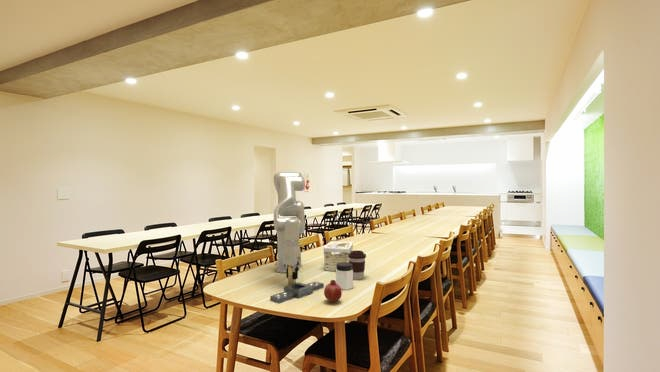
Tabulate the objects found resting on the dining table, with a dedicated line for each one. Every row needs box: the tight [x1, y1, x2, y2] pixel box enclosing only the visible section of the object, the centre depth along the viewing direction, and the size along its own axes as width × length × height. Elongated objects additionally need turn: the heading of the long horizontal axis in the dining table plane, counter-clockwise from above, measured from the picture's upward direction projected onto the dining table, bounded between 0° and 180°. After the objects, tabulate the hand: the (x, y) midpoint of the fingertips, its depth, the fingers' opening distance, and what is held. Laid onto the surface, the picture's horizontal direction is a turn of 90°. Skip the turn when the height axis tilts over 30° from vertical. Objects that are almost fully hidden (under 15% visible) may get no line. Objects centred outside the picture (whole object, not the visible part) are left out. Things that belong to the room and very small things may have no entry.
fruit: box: [323, 279, 342, 303], centre depth 153 cm, size 8×8×10 cm
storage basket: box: [323, 240, 354, 272], centre depth 216 cm, size 24×16×15 cm
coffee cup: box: [348, 250, 367, 281], centre depth 191 cm, size 10×10×15 cm
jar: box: [335, 262, 354, 291], centre depth 174 cm, size 9×8×12 cm
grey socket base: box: [269, 281, 325, 304], centre depth 165 cm, size 10×30×3 cm, turn 140°
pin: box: [287, 266, 297, 286], centre depth 177 cm, size 4×4×12 cm
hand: (292, 277), depth 177 cm, fingers closed on pin, 4 cm apart
